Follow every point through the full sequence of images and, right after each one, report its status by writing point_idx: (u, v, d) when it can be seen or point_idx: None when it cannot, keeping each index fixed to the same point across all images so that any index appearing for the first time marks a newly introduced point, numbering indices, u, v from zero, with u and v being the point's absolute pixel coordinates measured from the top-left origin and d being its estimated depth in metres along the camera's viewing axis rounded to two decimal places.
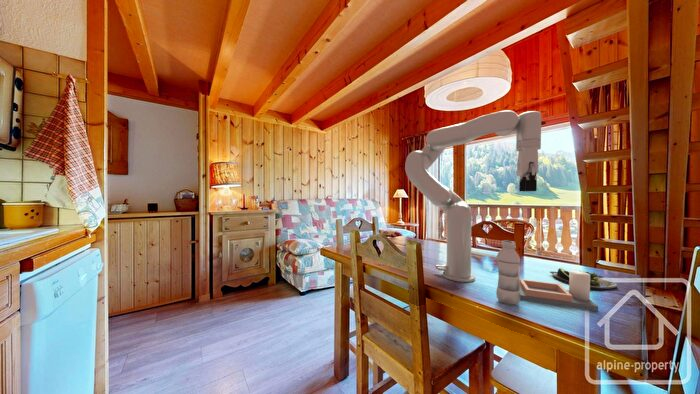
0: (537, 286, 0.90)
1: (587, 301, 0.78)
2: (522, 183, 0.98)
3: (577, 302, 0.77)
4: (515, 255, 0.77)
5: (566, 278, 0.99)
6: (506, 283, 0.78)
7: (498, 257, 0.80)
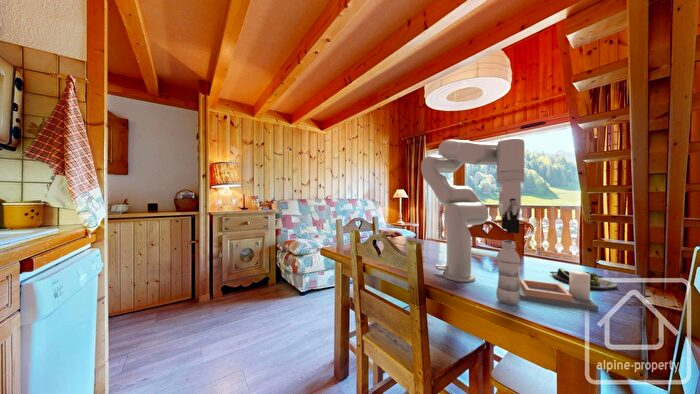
0: (537, 286, 0.90)
1: (587, 301, 0.78)
2: (505, 220, 0.84)
3: (577, 302, 0.77)
4: (515, 255, 0.77)
5: (566, 278, 0.99)
6: (506, 283, 0.78)
7: (498, 257, 0.80)
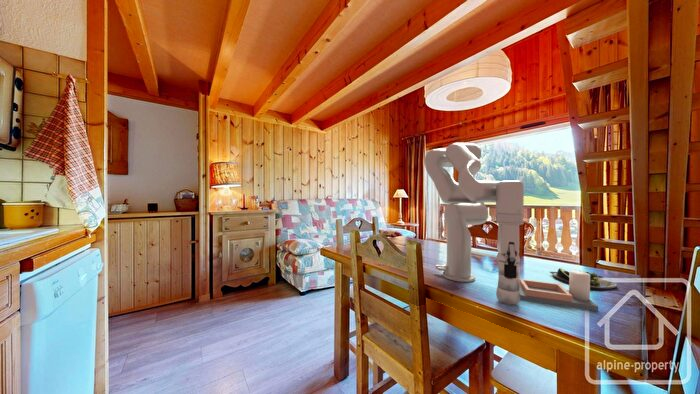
0: (537, 286, 0.90)
1: (587, 301, 0.78)
2: None
3: (577, 302, 0.77)
4: None
5: (566, 278, 0.99)
6: (506, 283, 0.78)
7: (498, 257, 0.80)
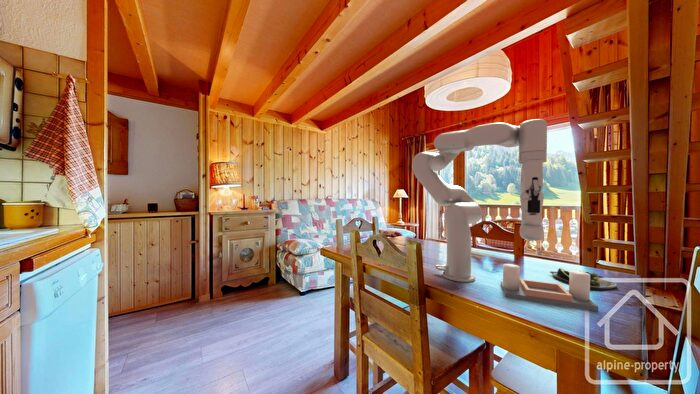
0: (537, 286, 0.90)
1: (587, 301, 0.78)
2: None
3: (577, 302, 0.77)
4: None
5: (566, 278, 0.99)
6: (529, 219, 0.81)
7: (521, 196, 0.83)
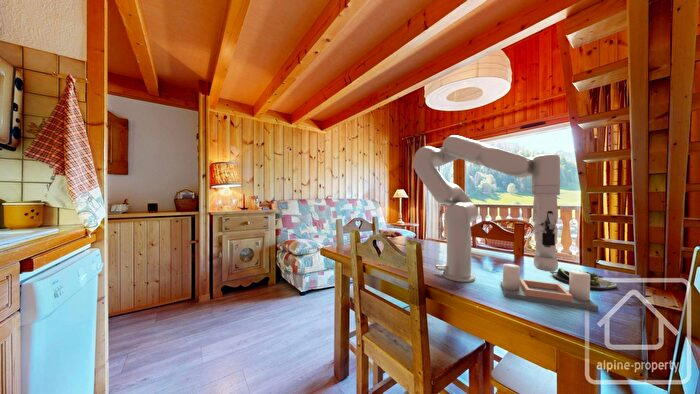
0: (537, 286, 0.90)
1: (587, 301, 0.78)
2: None
3: (577, 302, 0.77)
4: None
5: (566, 278, 0.99)
6: (544, 251, 0.83)
7: (536, 227, 0.85)
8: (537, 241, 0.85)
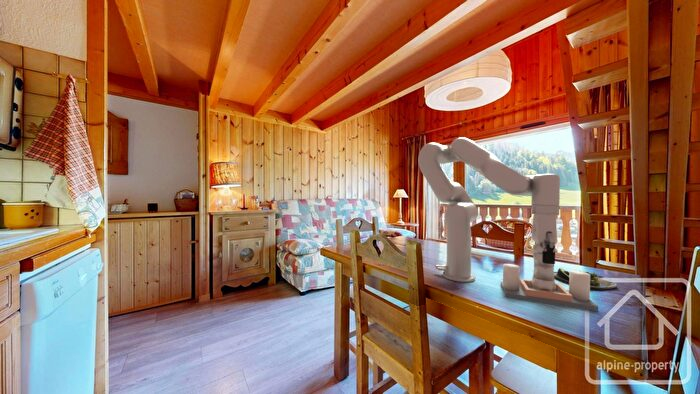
0: None
1: (587, 301, 0.78)
2: None
3: (577, 302, 0.77)
4: None
5: (566, 278, 0.99)
6: (542, 273, 0.83)
7: (534, 249, 0.85)
8: (535, 263, 0.85)
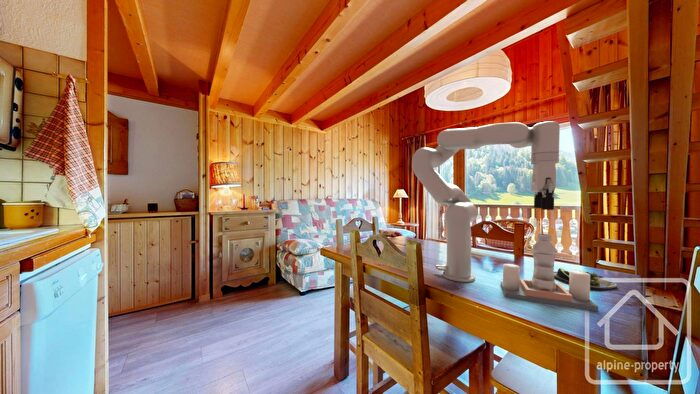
0: None
1: (587, 301, 0.78)
2: (537, 199, 0.90)
3: (577, 302, 0.77)
4: (551, 247, 0.82)
5: (566, 278, 0.99)
6: (542, 273, 0.83)
7: (534, 249, 0.85)
8: (535, 263, 0.85)
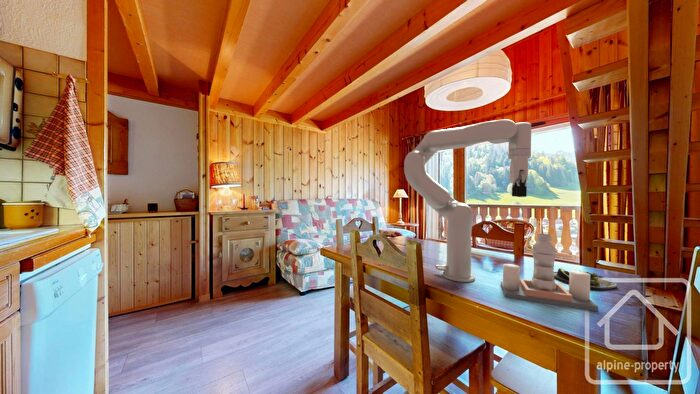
0: None
1: (587, 301, 0.78)
2: (514, 189, 1.05)
3: (577, 302, 0.77)
4: (551, 247, 0.82)
5: (566, 278, 0.99)
6: (542, 273, 0.83)
7: (534, 249, 0.85)
8: (535, 263, 0.85)
